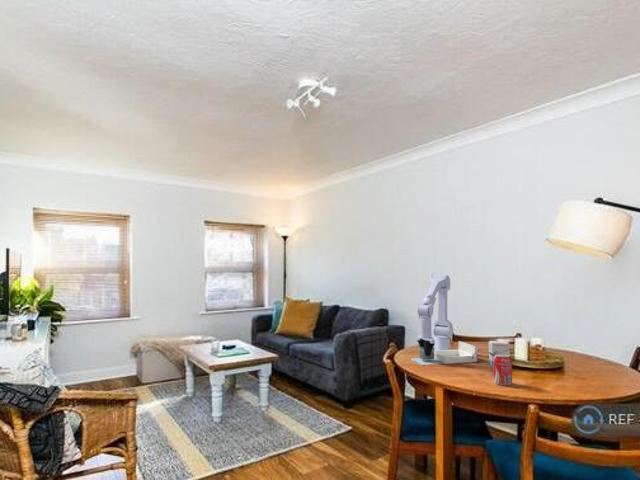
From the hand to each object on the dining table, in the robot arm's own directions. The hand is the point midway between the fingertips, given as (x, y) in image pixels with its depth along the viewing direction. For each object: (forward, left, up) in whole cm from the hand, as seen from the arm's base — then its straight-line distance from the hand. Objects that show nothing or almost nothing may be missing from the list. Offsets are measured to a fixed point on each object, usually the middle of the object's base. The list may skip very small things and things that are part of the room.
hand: (426, 355), depth 202 cm
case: (+1, +16, -3) cm, 16 cm away
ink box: (+16, +31, -4) cm, 35 cm away
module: (0, 0, -2) cm, 2 cm away
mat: (0, 0, -3) cm, 3 cm away
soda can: (+41, +13, -4) cm, 43 cm away
